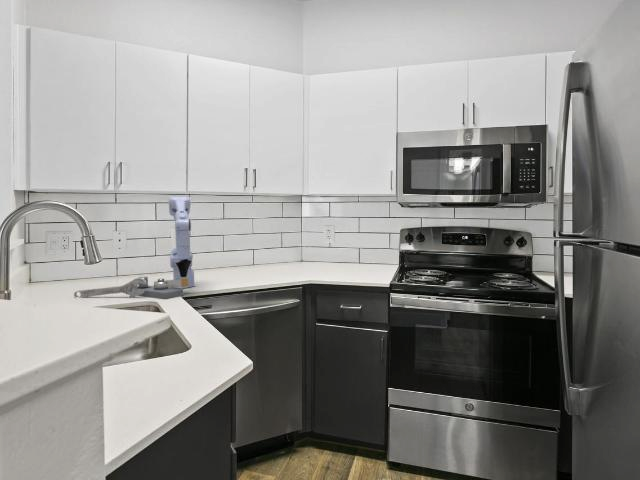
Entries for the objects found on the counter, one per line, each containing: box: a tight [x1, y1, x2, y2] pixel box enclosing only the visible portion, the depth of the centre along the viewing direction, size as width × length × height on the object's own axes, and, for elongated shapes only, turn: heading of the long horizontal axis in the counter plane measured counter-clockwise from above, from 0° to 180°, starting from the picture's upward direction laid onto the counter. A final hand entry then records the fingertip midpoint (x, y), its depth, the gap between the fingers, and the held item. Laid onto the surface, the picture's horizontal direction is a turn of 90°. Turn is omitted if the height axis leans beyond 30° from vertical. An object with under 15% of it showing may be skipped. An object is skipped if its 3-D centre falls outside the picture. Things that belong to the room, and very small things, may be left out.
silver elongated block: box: [153, 278, 188, 289], centre depth 205 cm, size 6×14×4 cm, turn 121°
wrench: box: [73, 277, 147, 299], centre depth 196 cm, size 8×2×30 cm
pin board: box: [137, 285, 184, 300], centre depth 202 cm, size 10×24×2 cm, turn 62°
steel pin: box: [137, 276, 149, 289], centre depth 206 cm, size 4×4×7 cm
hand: (183, 276), depth 206 cm, fingers closed
